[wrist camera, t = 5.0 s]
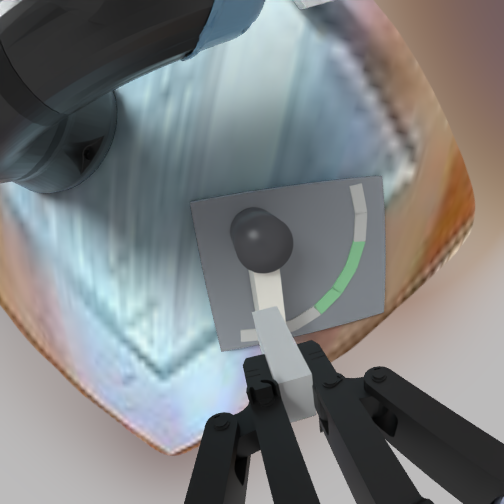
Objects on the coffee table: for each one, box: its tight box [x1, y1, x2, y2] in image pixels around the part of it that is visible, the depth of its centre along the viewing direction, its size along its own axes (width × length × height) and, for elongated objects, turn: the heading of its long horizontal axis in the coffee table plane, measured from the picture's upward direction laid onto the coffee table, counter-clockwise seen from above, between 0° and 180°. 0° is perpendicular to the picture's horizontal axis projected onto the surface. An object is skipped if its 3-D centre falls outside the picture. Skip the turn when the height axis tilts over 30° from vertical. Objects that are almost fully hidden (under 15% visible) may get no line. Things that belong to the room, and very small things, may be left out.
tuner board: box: [190, 176, 386, 352], centre depth 34 cm, size 22×18×2 cm
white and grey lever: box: [230, 207, 293, 323], centre depth 29 cm, size 14×5×6 cm, turn 8°
